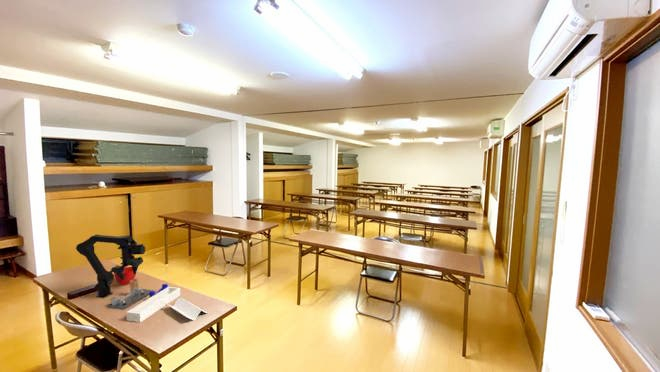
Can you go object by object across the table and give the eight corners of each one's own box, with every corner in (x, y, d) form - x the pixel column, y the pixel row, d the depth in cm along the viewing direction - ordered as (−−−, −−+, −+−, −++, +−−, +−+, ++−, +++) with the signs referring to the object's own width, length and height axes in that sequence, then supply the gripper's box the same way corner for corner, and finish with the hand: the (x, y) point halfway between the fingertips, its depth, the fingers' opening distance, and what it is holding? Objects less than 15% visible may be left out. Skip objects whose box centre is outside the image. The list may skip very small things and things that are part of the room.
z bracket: (179, 310, 173) (186, 300, 176) (201, 323, 159) (208, 313, 162) (164, 303, 165) (171, 293, 168) (186, 317, 151) (193, 306, 154)
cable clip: (162, 291, 187) (161, 283, 187) (168, 292, 187) (167, 284, 186) (147, 300, 176) (147, 292, 175) (153, 301, 175) (153, 292, 174)
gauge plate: (107, 307, 167) (107, 300, 167) (138, 290, 189) (138, 283, 188) (123, 309, 165) (123, 302, 164) (153, 292, 186) (153, 285, 186)
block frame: (126, 320, 154) (126, 312, 154) (168, 293, 185) (168, 286, 184) (140, 322, 153) (139, 313, 152) (180, 295, 183) (180, 288, 182)
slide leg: (130, 293, 181) (129, 280, 180) (134, 291, 184) (133, 278, 183) (140, 294, 179) (139, 282, 178) (144, 292, 182) (143, 280, 181)
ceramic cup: (126, 277, 209) (125, 264, 208) (141, 281, 203) (140, 268, 202) (107, 284, 197) (106, 271, 196) (122, 288, 191) (121, 275, 190)
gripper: (124, 260, 170) (126, 284, 172) (149, 250, 189) (150, 272, 190) (109, 259, 173) (111, 282, 174) (135, 249, 191) (137, 271, 192)
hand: (128, 277), depth 183 cm, fingers open, 9 cm apart
